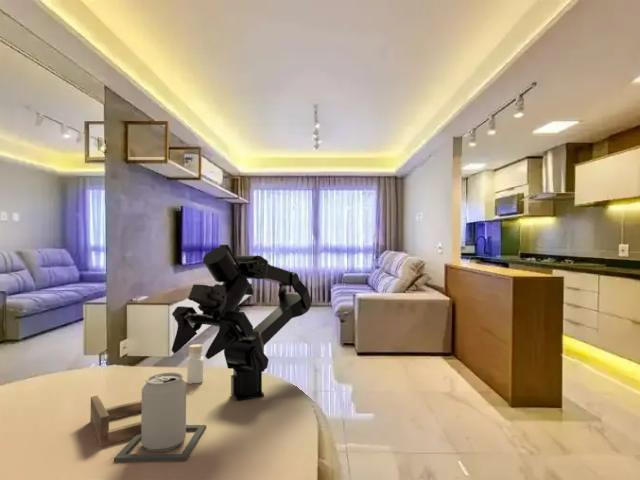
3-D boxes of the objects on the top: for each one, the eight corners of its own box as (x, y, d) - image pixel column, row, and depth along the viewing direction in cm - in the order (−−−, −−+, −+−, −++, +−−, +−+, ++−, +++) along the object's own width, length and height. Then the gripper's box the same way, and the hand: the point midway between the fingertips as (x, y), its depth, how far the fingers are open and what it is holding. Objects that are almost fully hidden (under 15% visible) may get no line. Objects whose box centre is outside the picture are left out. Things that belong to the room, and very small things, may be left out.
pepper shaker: (188, 379, 104) (188, 344, 105) (203, 378, 105) (203, 343, 106) (186, 384, 100) (187, 347, 101) (202, 383, 101) (203, 346, 102)
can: (170, 456, 66) (171, 385, 66) (131, 452, 67) (132, 382, 67) (193, 435, 73) (194, 371, 73) (158, 432, 74) (158, 369, 75)
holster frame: (145, 428, 76) (145, 425, 76) (206, 427, 76) (206, 424, 76) (113, 461, 64) (113, 457, 64) (186, 461, 64) (186, 457, 64)
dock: (151, 407, 86) (151, 384, 86) (168, 427, 76) (168, 401, 76) (90, 421, 79) (90, 396, 79) (100, 446, 69) (100, 417, 69)
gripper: (181, 270, 88) (135, 325, 77) (246, 272, 79) (205, 334, 69) (204, 303, 94) (165, 357, 84) (267, 308, 86) (232, 370, 75)
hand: (189, 354), depth 78 cm, fingers open, 9 cm apart
